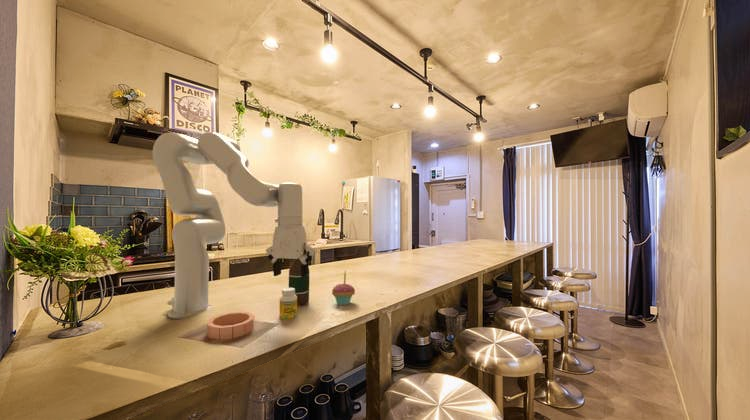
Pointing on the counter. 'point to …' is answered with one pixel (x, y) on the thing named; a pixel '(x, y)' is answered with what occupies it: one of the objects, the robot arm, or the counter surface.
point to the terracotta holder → (220, 331)
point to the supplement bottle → (288, 303)
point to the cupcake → (343, 292)
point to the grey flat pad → (239, 341)
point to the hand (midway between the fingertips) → (290, 275)
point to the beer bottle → (299, 283)
